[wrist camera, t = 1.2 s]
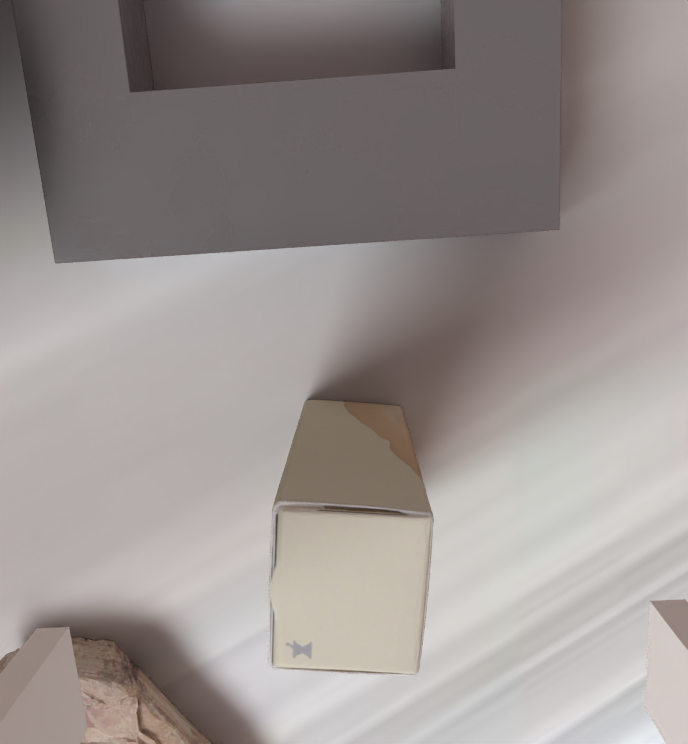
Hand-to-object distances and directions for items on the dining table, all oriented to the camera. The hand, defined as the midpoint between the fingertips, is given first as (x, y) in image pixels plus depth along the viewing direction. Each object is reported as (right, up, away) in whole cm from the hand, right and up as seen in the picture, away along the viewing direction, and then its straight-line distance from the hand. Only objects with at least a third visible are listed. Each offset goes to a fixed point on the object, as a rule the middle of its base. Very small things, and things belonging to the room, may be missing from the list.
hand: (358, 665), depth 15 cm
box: (0, +3, +13) cm, 14 cm away
